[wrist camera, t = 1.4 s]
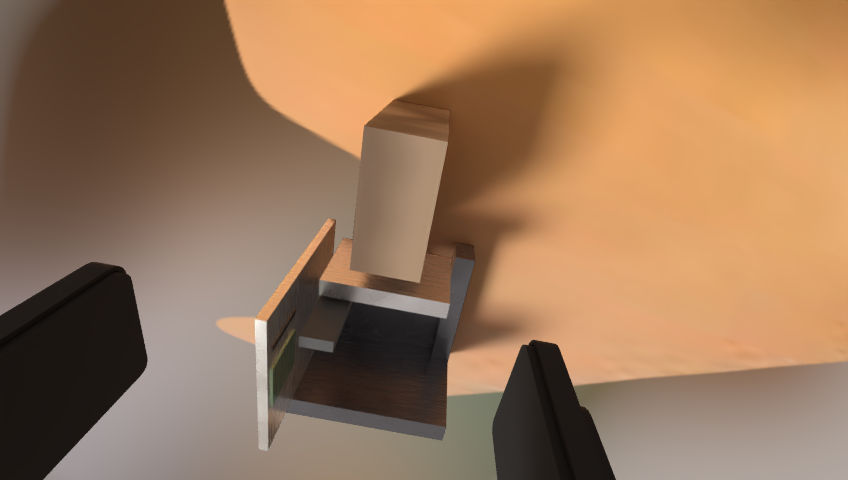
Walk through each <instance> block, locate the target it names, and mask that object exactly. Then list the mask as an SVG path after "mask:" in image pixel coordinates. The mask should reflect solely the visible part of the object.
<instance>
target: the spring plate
mask: <svg viewBox="0 0 848 480" xmlns="http://www.w3.org/2000/svg"><path fill="white" fill-rule="evenodd" d="M352 241H353V239H347V238H343V240H342V242H341V243H340V245H339V247H338V249H337V250H336V252H335V254H334V255H333V257H332V259H331V261H330V262H329V264H328V266H327V268H326V269H325V271H324V273H323V275H322V276H321V278H320V280H319V295H321V296H326V297H332V298H337V299H343V300H348V301H353V302H359V303H364V304H370V305H375V306H380V307H386V308H391V309H397V310H402V311H407V312H413V313H418V314H424V315H429V316H435V317H440V318H445V319H446V318H447V314H448V310H449V306H450V272H451V258H449V257H443V256H438V255H433V254H427V253H426V254H425V259H424V264H423V269H422V274H421V279H420V283H417V282H412V281H406V280H401V279H396V278H390V277H385V276H380V275H374V274H369V273H363V272H358V271H353V270H350V261H351V251H352Z"/></svg>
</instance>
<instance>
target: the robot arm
mask: <svg viewBox="0 0 848 480" xmlns="http://www.w3.org/2000/svg"><path fill="white" fill-rule="evenodd" d="M146 366H147V354H146V349H145V344H144V339H143V334H142V329H141V325H140V319H139V314H138V309H137V304H136V299H135V294H134V289H133V284H132V280H131V277H130V276H129V275H128V274H126V272H125V270H124V269H123V268H122V267H119V266H115V265H109V264H104V263H98V262H90V263H88V264H86V265H84V266H82V267H81V268H79V269H77V270H76V271H74V272H72V273H71V274H69V275H67V276H66V277H64V278H63V279H61V280H59V281H57V282H56V283H54V284H53V285H51V286H49V287H47V288H46V289H44V290H42V291H41V292H39V293H37V294H36V295H34V296H32V297H31V298H29V299H27V300H26V301H24V302H23V303H21V304H19V305H17V306H16V307H14V308H12V309H11V310H9V311H7V312H6V313H4V314H2V315H1V316H0V480H43V479H44V478H45V477H46V476H47V475H48V474H49V473H50V472H51V471H52V469H53V468H54V467H55V466H56V465H57V464H58V463H59V462H60V461H61V460H62V459H63V458H64V457H65V456H66V455H67V453H68V452H69V451H70V450H71V449H72V448H73V447H74V446H75V445H76V444H77V443H78V442H79V441H80V439H82V438H83V436H84V435H85V434H86V433H87V432H88V431H89V430H90V429H91V428H92V427H93V426H94V425H95V424H96V423H97V422H98V420H99V419H100V418H101V417H102V416H103V415H104V414H105V413H106V412H107V411H108V410H109V409H110V407H112V405H114V403H115V402H116V401H117V400H118V399H119V398H120V397H121V396H122V395H123V394H124V393H125V392H126V390H128V389H129V387H130V386H131V385H132V384H133V383H134V382H135V381H136V380H137V379H138V378H139V377H140V376H141V374H142V373H143V372H144V370H145V368H146ZM492 433H493V443H494V453H495V462H496V471H497V480H616V479H615V476H614V474H613V471H612V468H611V466H610V463H609V461H608V458H607V455H606V453H605V450H604V447H603V445H602V442H601V440H600V437H599V434H598V432H597V429H596V427H595V424H594V422H593V419H592V417H591V415H590V413H589V411H588V410H587V409H586V408H585V407H581V406H580V404H579V401H578V399H577V396H576V393H575V390H574V388H573V385H572V382H571V379H570V377H569V374H568V371H567V368H566V366H565V363H564V360H563V357H562V355H561V352H560V349H559V347H558V345H556V344H554V343H548V342H542V341H537V340H532V341H531V342H530V343H529V345H522V347H521V349H520V351H519V354H518V357H517V359H516V362H515V364H514V367H513V370H512V372H511V375H510V378H509V380H508V383H507V386H506V388H505V391H504V394H503V396H502V399H501V402H500V404H499V407H498V409H497V412H496V415H495V418H494V421H493V431H492Z"/></svg>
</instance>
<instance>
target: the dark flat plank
mask: <svg viewBox="0 0 848 480" xmlns="http://www.w3.org/2000/svg"><path fill="white" fill-rule="evenodd" d="M352 303H353V301H348V300H343V299H337V298H332V297H326V296H320V298H319V300H318V302H317V303H316V305H315V307H314V309H313V311H312V313H311V315H310V316H309V318H308V320H307V322H306V324H305V326H304V328H303V330H302V331H301V333H300V335H299V347H304V348H310V349H315V350H321V351H326V352H332V353H333V351H334V348H335V346H336V343H337V341H338V338H339V336H340V333H341V331H342V328H343V326H344V323H345V321H346V318H347V316H348V313H349V311H350V308H351V305H352Z"/></svg>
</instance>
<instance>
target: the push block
mask: <svg viewBox="0 0 848 480" xmlns="http://www.w3.org/2000/svg"><path fill="white" fill-rule="evenodd" d="M449 122H450V110H445V109H439V108H434V107H429V106H424V105H419V104H413V103H408V102H403V101H398V100H393V101H392V102H391V103H390V104H389V105H387V106H386V107H385V108H384V109H383V110H382V111H381V112H379V113H378V114H377V115H376V116H375V117H374V118H373V119H371V120H370V121H369V122H368V123H367V124H366V125H365V126H364V132H363V142H362V152H361V162H360V172H359V182H358V192H357V202H356V212H355V221H354V231H353V241H352V251H351V261H350V270H353V271H358V272H363V273H369V274H374V275H380V276H385V277H390V278H396V279H401V280H406V281H412V282H417V283H420V279H421V274H422V269H423V264H424V259H425V254H426V250H427V245H428V240H429V235H430V230H431V225H432V220H433V215H434V210H435V205H436V200H437V195H438V190H439V185H440V180H441V175H442V170H443V165H444V160H445V155H446V151H447V146H448V138H449Z"/></svg>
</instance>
